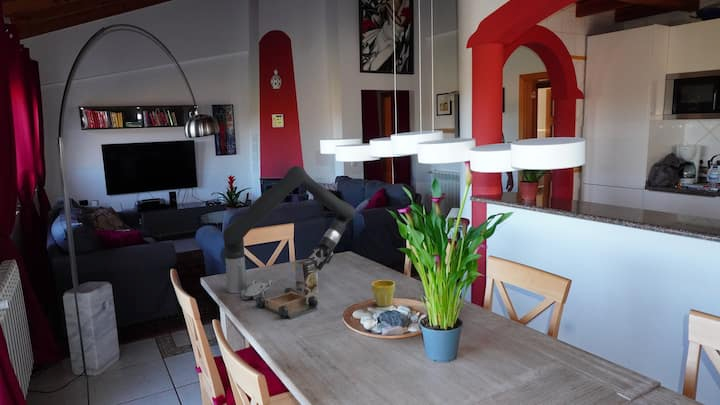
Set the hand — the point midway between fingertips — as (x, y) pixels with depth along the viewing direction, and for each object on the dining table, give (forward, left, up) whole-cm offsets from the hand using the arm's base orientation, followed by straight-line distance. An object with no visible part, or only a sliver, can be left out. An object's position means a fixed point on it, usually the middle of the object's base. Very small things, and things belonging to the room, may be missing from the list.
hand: (312, 267), depth 241 cm
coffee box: (0, -4, -12) cm, 13 cm away
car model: (-21, -19, -13) cm, 31 cm away
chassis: (+7, -21, -12) cm, 25 cm away
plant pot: (+37, +10, -12) cm, 40 cm away
